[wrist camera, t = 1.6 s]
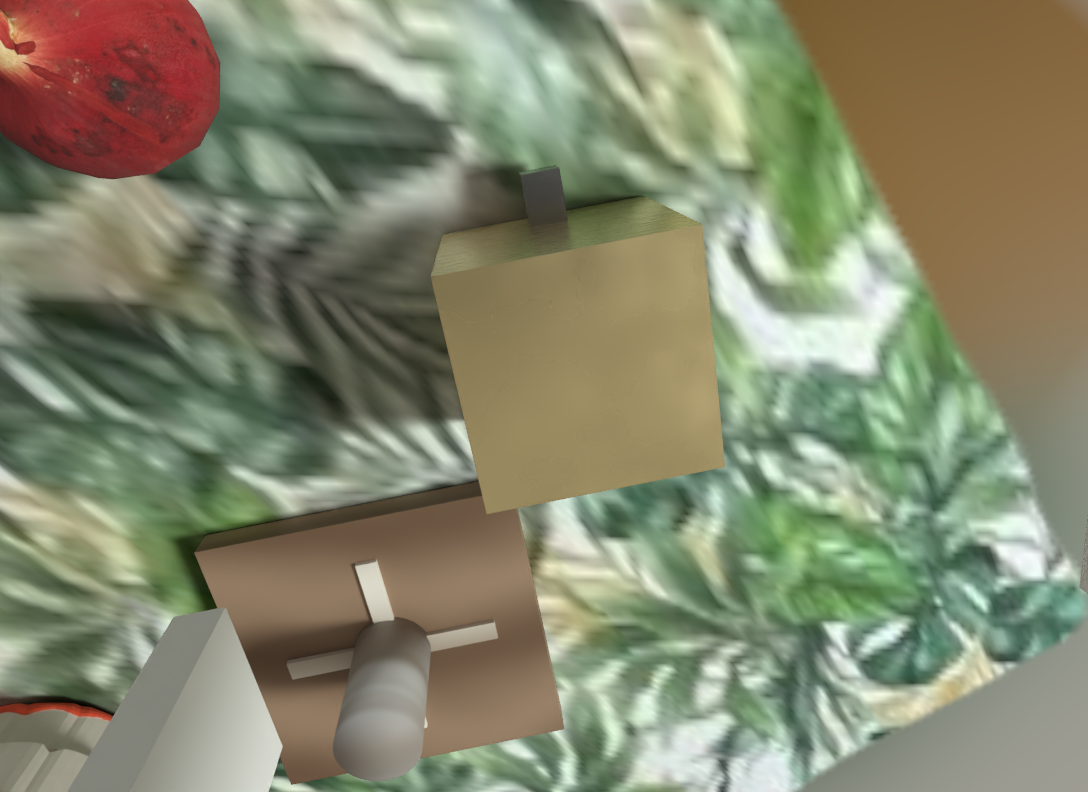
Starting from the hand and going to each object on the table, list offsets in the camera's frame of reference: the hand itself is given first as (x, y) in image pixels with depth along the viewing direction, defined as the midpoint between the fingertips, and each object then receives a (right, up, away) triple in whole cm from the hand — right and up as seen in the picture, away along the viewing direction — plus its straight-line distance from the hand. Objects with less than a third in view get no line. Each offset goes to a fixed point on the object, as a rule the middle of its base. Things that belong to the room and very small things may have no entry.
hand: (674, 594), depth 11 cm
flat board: (-8, -7, +19) cm, 22 cm away
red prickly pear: (-14, +13, +12) cm, 22 cm away
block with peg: (-1, +6, +15) cm, 16 cm away
